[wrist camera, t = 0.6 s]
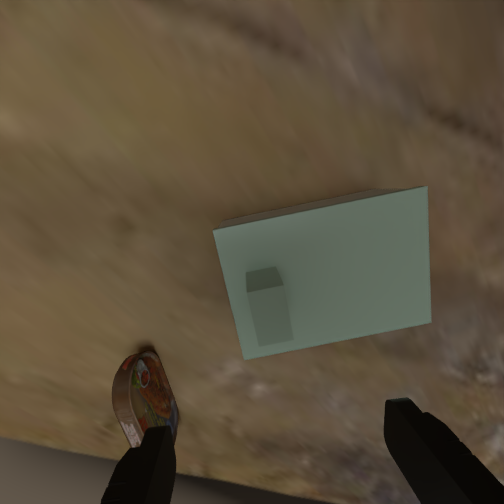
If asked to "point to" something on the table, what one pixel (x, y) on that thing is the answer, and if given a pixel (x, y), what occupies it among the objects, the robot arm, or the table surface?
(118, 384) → the tin
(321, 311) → the lid
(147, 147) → the table surface
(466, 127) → the table surface
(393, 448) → the robot arm
